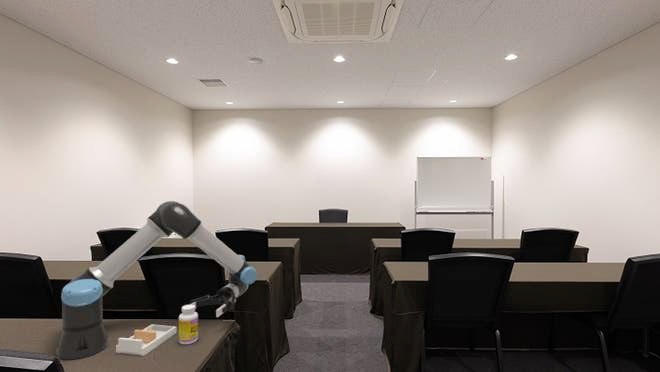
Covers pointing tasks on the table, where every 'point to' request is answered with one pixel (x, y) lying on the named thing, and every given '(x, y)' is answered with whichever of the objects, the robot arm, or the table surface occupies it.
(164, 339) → the tray
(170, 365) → the table surface
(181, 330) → the supplement bottle
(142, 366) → the table surface
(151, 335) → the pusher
